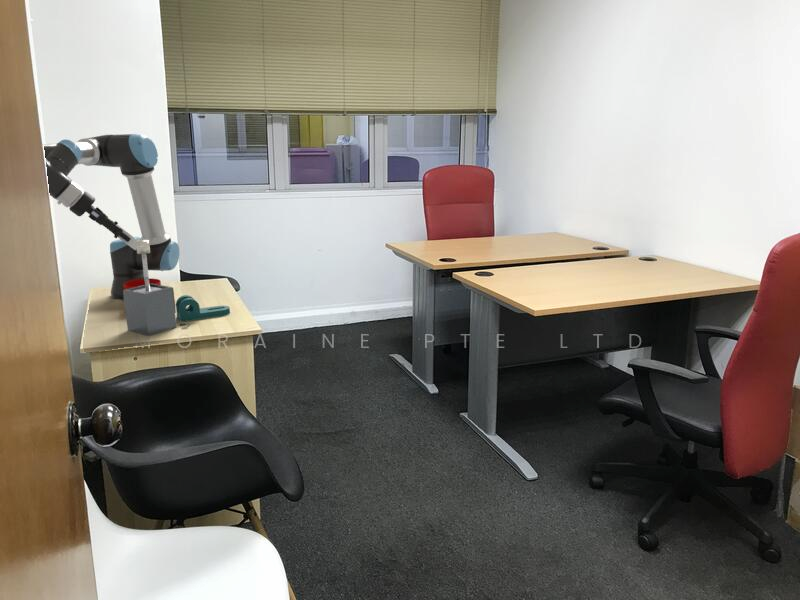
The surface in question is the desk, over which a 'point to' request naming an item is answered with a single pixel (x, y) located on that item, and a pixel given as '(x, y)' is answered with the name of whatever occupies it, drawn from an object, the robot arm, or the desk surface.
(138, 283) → the ceramic cup
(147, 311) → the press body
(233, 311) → the desk surface
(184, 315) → the bracket
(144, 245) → the plunger
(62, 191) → the robot arm
